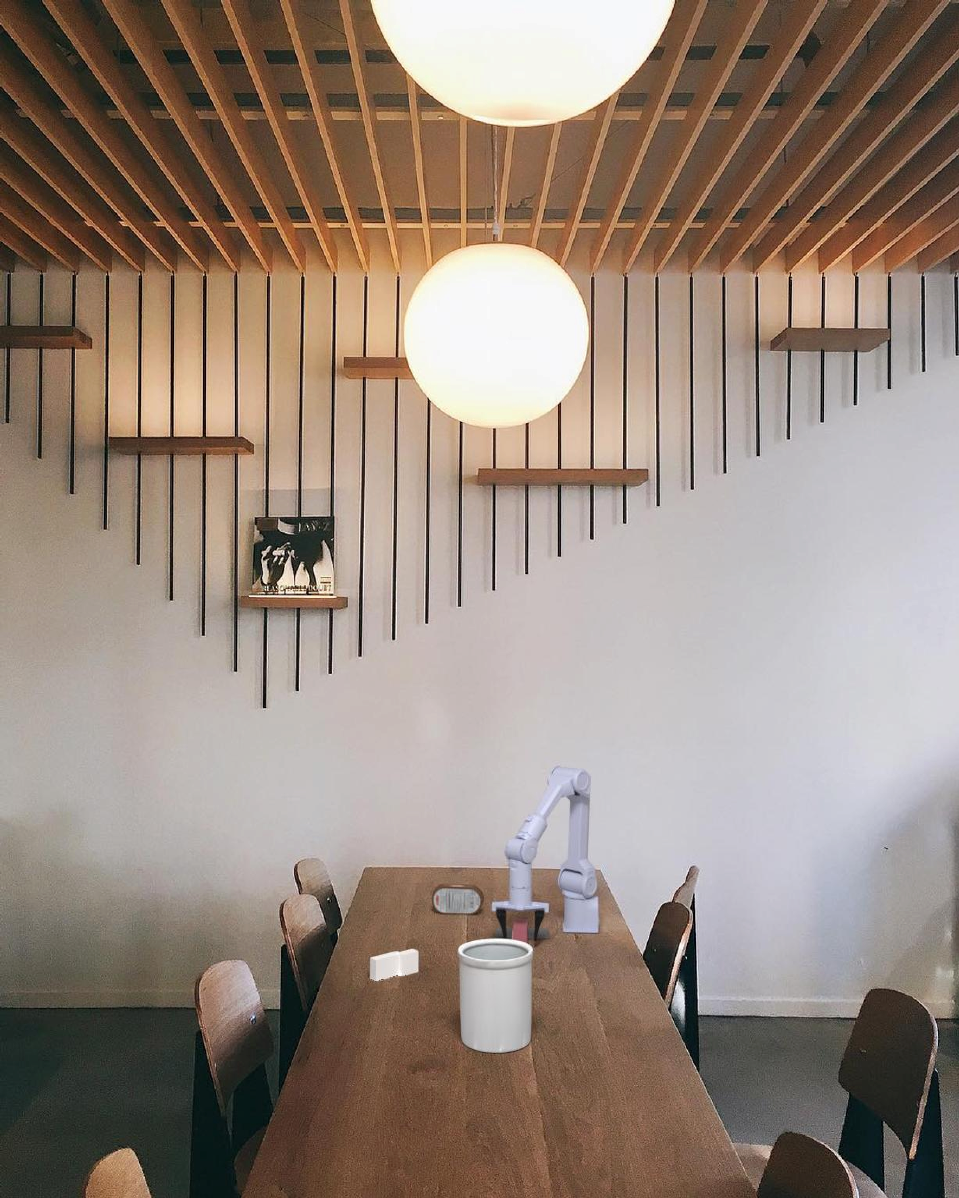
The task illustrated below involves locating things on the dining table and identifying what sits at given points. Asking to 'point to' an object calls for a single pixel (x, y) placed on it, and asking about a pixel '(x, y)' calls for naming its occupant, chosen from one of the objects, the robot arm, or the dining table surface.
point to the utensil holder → (495, 994)
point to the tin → (457, 899)
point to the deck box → (520, 930)
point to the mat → (541, 933)
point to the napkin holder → (394, 964)
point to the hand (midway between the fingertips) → (520, 939)
